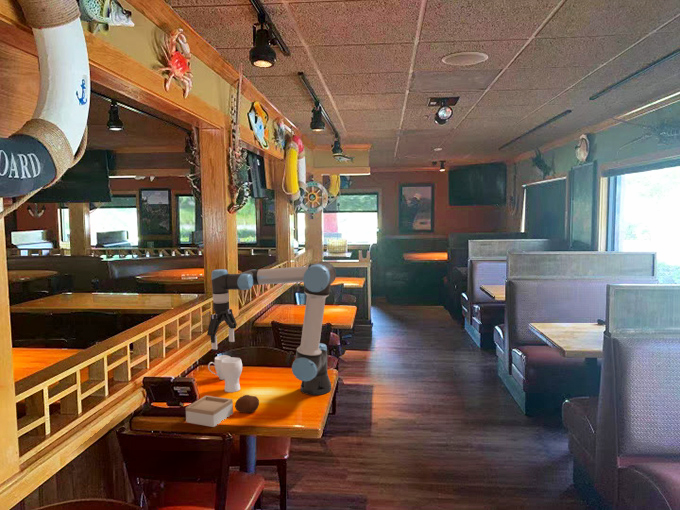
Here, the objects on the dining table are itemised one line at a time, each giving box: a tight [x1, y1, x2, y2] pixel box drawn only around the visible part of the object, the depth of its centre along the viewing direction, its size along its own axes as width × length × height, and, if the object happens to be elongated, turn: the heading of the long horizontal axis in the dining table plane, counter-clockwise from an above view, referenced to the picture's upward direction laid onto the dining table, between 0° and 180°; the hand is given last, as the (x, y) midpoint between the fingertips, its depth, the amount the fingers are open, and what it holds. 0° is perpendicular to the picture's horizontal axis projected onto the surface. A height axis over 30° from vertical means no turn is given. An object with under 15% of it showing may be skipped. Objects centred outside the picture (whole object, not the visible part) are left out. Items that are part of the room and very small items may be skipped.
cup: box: [220, 356, 243, 393], centre depth 248 cm, size 11×11×15 cm
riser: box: [185, 395, 234, 428], centre depth 215 cm, size 14×14×7 cm
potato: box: [234, 394, 260, 414], centre depth 221 cm, size 8×11×8 cm
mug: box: [207, 354, 232, 381], centre depth 264 cm, size 12×8×11 cm
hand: (223, 345), depth 240 cm, fingers open, 13 cm apart
